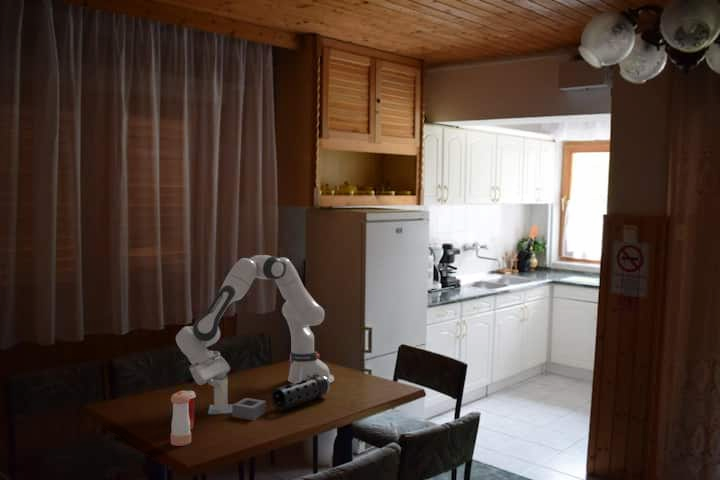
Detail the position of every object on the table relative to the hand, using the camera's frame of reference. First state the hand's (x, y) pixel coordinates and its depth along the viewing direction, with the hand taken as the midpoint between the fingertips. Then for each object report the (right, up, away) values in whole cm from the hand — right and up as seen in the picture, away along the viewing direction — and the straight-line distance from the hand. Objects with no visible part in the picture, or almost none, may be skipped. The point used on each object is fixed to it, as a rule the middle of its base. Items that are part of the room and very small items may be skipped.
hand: (222, 386), depth 279 cm
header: (+12, -11, -4) cm, 17 cm away
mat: (-1, -10, +1) cm, 10 cm away
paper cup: (-10, -12, -20) cm, 26 cm away
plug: (-1, -10, +1) cm, 10 cm away
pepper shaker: (-8, -13, -34) cm, 37 cm away
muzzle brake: (+32, -10, +10) cm, 36 cm away
